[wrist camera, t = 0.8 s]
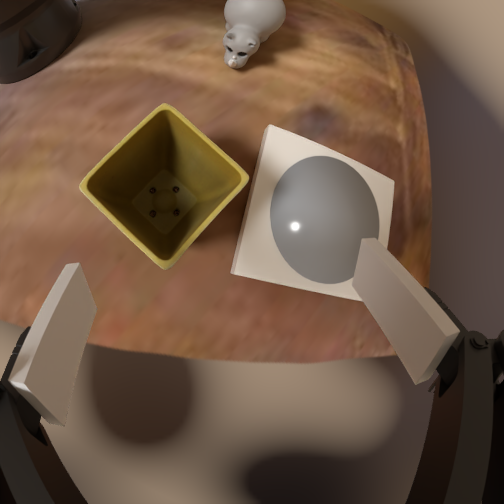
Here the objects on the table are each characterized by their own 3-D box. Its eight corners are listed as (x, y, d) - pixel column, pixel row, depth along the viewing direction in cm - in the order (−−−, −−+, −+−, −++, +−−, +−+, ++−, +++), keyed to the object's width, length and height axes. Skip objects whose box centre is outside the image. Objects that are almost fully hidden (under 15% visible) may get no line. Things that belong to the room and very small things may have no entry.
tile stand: (264, 129, 29) (270, 123, 28) (387, 183, 35) (396, 180, 33) (230, 273, 28) (234, 274, 26) (369, 302, 33) (378, 304, 31)
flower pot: (166, 268, 26) (166, 273, 18) (102, 207, 25) (75, 185, 16) (226, 201, 28) (253, 177, 20) (164, 144, 26) (166, 99, 18)
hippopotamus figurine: (199, 67, 30) (198, 45, 22) (233, 0, 27) (241, -31, 19) (252, 85, 32) (265, 67, 24) (282, 17, 29) (301, -10, 21)
